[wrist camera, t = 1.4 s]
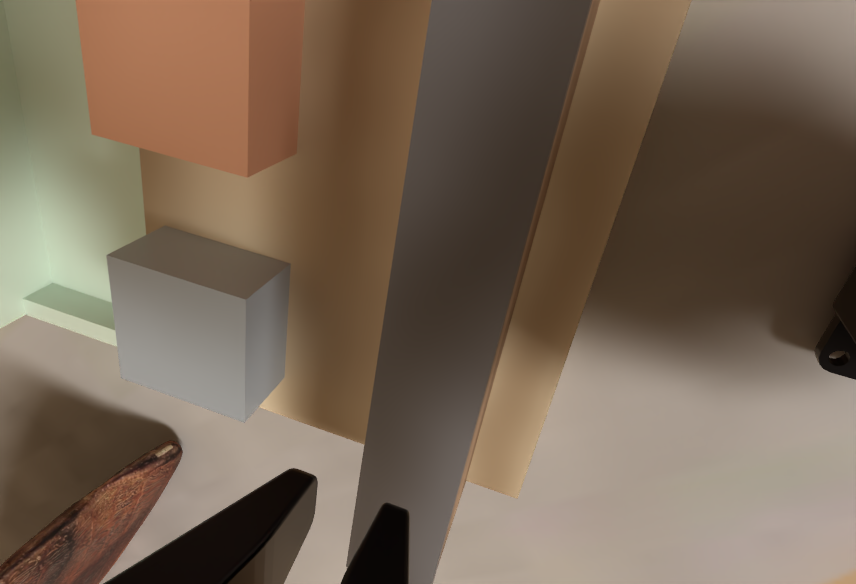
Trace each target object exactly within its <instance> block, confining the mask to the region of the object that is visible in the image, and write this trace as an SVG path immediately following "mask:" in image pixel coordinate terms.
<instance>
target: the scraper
mask: <svg viewBox="0 0 856 584" xmlns="http://www.w3.org/2000/svg"><path fill="white" fill-rule="evenodd" d="M599 4H600V0H432V2H431V9H430V15H429V22H428V28H427V35H426V42H425V48H424V55H423V61H422V68H421V75H420V81H419V88H418V95H417V101H416V108H415V114H414V121H413V128H412V134H411V141H410V147H409V154H408V161H407V167H406V174H405V181H404V187H403V194H402V200H401V207H400V214H399V220H398V227H397V234H396V240H395V247H394V253H393V260H392V267H391V273H390V280H389V286H388V293H387V300H386V306H385V313H384V320H383V326H382V333H381V339H380V346H379V353H378V359H377V366H376V372H375V379H374V386H373V392H372V399H371V406H370V412H369V419H368V425H367V432H366V439H365V445H364V452H363V458H362V465H361V472H360V478H359V485H358V492H357V498H356V505H355V511H354V518H353V525H352V531H351V538H350V544H349V551H348V558H347V564H346V567H348V566H349V564H350V562H351V560H352V559H353V557H354V555H355V553H356V551H357V549H358V547H359V546H360V544H361V542H362V540H363V538H364V536H365V534H366V533H367V531H368V529H369V527H370V525H371V523H372V521H373V520H374V518H375V516H376V514H377V512H378V510H379V508H380V507H381V505H382V504H383V503H391V504H393V505H396V506H399V507H402V508H404V509H407V510H408V511H409V513H410V548H409V584H433V581H434V578H435V574H436V570H437V567H438V564H439V561H440V558H441V555H442V552H443V549H444V546H445V543H446V540H447V537H448V534H449V531H450V528H451V525H452V522H453V519H454V516H455V513H456V510H457V507H458V503H459V500H460V497H461V494H462V491H463V488H464V485H465V482H466V479H467V475H468V472H469V468H470V465H471V461H472V458H473V454H474V450H475V447H476V443H477V440H478V436H479V433H480V429H481V425H482V422H483V418H484V415H485V411H486V408H487V404H488V400H489V397H490V393H491V390H492V386H493V383H494V379H495V375H496V372H497V368H498V365H499V361H500V358H501V354H502V350H503V347H504V343H505V340H506V336H507V333H508V329H509V325H510V322H511V318H512V315H513V311H514V308H515V304H516V300H517V297H518V293H519V290H520V286H521V283H522V279H523V275H524V272H525V268H526V265H527V261H528V258H529V254H530V250H531V247H532V243H533V240H534V236H535V233H536V229H537V225H538V222H539V218H540V215H541V211H542V208H543V204H544V200H545V197H546V193H547V190H548V186H549V183H550V179H551V175H552V172H553V168H554V165H555V161H556V158H557V154H558V150H559V147H560V143H561V140H562V136H563V133H564V129H565V125H566V122H567V118H568V115H569V111H570V108H571V104H572V100H573V97H574V93H575V90H576V86H577V83H578V79H579V75H580V72H581V68H582V65H583V61H584V58H585V54H586V50H587V47H588V43H589V40H590V36H591V32H592V29H593V25H594V22H595V18H596V15H597V11H598V7H599Z"/></svg>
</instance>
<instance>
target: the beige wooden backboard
mask: <svg viewBox="0 0 856 584" xmlns="http://www.w3.org/2000/svg"><path fill="white" fill-rule="evenodd" d="M431 2H432V0H305V11H304V30H303V48H302V66H301V85H300V103H299V122H298V140H297V154H295V155H293V156H291V157H289V158H287V159H285V160H283V161H281V162H279V163H277V164H274V165H272V166H270V167H268V168H266V169H264V170H262V171H260V172H258V173H256V174H254V175H252V176H250V177H248V178H247V177H243V176H239V175H236V174H232V173H229V172H225V171H221V170H218V169H214V168H211V167H207V166H203V165H200V164H196V163H193V162H189V161H185V160H182V159H178V158H175V157H171V156H167V155H164V154H160V153H157V152H153V151H149V150H146V149H142V148H139V153H140V165H141V177H142V189H143V202H144V214H145V226H146V235H147V234H149V233H151V232H153V231H155V230H157V229H159V228H161V227H163V226H168V227H172V228H175V229H178V230H182V231H185V232H188V233H191V234H195V235H198V236H201V237H205V238H208V239H211V240H215V241H218V242H221V243H224V244H228V245H231V246H234V247H238V248H241V249H244V250H248V251H251V252H254V253H257V254H261V255H264V256H267V257H271V258H274V259H277V260H281V261H284V262H287V263H291V268H290V287H289V305H288V323H287V342H286V360H285V378H284V379H283V380H282V381H281V382H280V383H279V384H278V386H277V387H276V388H275V389H274V390H273V391H272V392H271V393H270V395H269V396H268V397H267V398H266V399H265V400H264V401H263V402H262V404H261V405H260V406H259V407H260V408H263V409H265V410H268V411H271V412H274V413H277V414H280V415H282V416H285V417H288V418H291V419H294V420H297V421H299V422H302V423H305V424H308V425H311V426H313V427H316V428H319V429H322V430H325V431H328V432H330V433H333V434H336V435H339V436H342V437H345V438H347V439H350V440H353V441H356V442H359V443H361V444H364V445H365V439H366V432H367V425H368V419H369V412H370V406H371V399H372V392H373V386H374V379H375V372H376V366H377V359H378V353H379V346H380V339H381V333H382V326H383V320H384V313H385V306H386V300H387V293H388V286H389V280H390V273H391V267H392V260H393V253H394V247H395V240H396V234H397V227H398V220H399V214H400V207H401V200H402V194H403V187H404V181H405V174H406V167H407V161H408V154H409V147H410V141H411V134H412V128H413V121H414V114H415V108H416V101H417V95H418V88H419V81H420V75H421V68H422V61H423V55H424V48H425V42H426V35H427V28H428V22H429V15H430V9H431ZM690 3H691V0H600V4H599V7H598V11H597V15H596V18H595V22H594V25H593V29H592V32H591V36H590V40H589V43H588V47H587V50H586V54H585V58H584V61H583V65H582V68H581V72H580V75H579V79H578V83H577V86H576V90H575V93H574V97H573V100H572V104H571V108H570V111H569V115H568V118H567V122H566V125H565V129H564V133H563V136H562V140H561V143H560V147H559V150H558V154H557V158H556V161H555V165H554V168H553V172H552V175H551V179H550V183H549V186H548V190H547V193H546V197H545V200H544V204H543V208H542V211H541V215H540V218H539V222H538V225H537V229H536V233H535V236H534V240H533V243H532V247H531V250H530V254H529V258H528V261H527V265H526V268H525V272H524V275H523V279H522V283H521V286H520V290H519V293H518V297H517V300H516V304H515V308H514V311H513V315H512V318H511V322H510V325H509V329H508V333H507V336H506V340H505V343H504V347H503V350H502V354H501V358H500V361H499V365H498V368H497V372H496V375H495V379H494V383H493V386H492V390H491V393H490V397H489V400H488V404H487V408H486V411H485V415H484V418H483V422H482V425H481V429H480V433H479V436H478V440H477V443H476V447H475V450H474V454H473V458H472V461H471V465H470V468H469V472H468V475H467V479H466V481H469V482H471V483H474V484H477V485H480V486H483V487H486V488H488V489H491V490H494V491H497V492H500V493H503V494H505V495H508V496H511V497H514V498H518V495H519V493H520V490H521V487H522V484H523V481H524V478H525V475H526V473H527V470H528V467H529V464H530V461H531V458H532V455H533V452H534V450H535V447H536V444H537V441H538V438H539V435H540V432H541V430H542V427H543V424H544V421H545V418H546V415H547V412H548V410H549V407H550V404H551V401H552V398H553V395H554V392H555V390H556V387H557V384H558V381H559V378H560V375H561V372H562V369H563V367H564V364H565V361H566V358H567V355H568V352H569V349H570V347H571V344H572V341H573V338H574V335H575V332H576V329H577V327H578V324H579V321H580V318H581V315H582V312H583V309H584V307H585V304H586V301H587V298H588V295H589V292H590V289H591V286H592V284H593V281H594V278H595V275H596V272H597V269H598V266H599V264H600V261H601V258H602V255H603V252H604V249H605V246H606V244H607V241H608V238H609V235H610V232H611V229H612V226H613V224H614V221H615V218H616V215H617V212H618V209H619V206H620V203H621V201H622V198H623V195H624V192H625V189H626V186H627V183H628V181H629V178H630V175H631V172H632V169H633V166H634V163H635V161H636V158H637V155H638V152H639V149H640V146H641V143H642V141H643V138H644V135H645V132H646V129H647V126H648V123H649V120H650V118H651V115H652V112H653V109H654V106H655V103H656V100H657V98H658V95H659V92H660V89H661V86H662V83H663V80H664V78H665V75H666V72H667V69H668V66H669V63H670V60H671V57H672V55H673V52H674V49H675V46H676V43H677V40H678V37H679V35H680V32H681V29H682V26H683V23H684V20H685V17H686V15H687V12H688V9H689V6H690Z"/></svg>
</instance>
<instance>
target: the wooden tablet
mask: <svg viewBox="0 0 856 584" xmlns="http://www.w3.org/2000/svg"><path fill="white" fill-rule="evenodd" d="M182 453H183V451H182V448H181V446H180V445H179V444H178V443H177V442H175V441H168V442H165V443H163V444H162V445H160V446H158V447H156V448H155V449H153V450H151V451H150V452H148V453H146V454H144V455H143V456H141V457H140V458H138V459H137V460H135V461H134V462H132V463H131V464H129V465H128V466H126V467H125V468H123V469H122V470H121V471H119V472H118V473H117V474H115V475H114V476H113V477H111V478H110V479H109V480H108V481H106V482H105V483H104V484H102V485H101V486H100V487H98V488H96V489H95V490H93V491H92V492H90V493H89V494H88V495H86V496H85V497H84V498H82V499H81V500H79V501H78V502H76V503H74V504H73V505H72V506H71V507H69V508H68V509H67V510H65V511H64V512H63V513H62V514H60V515H59V516H58V517H57V518H56V519H55V520H53V521H52V522H51V523H50V524H49V525H47V526H46V527H45V528H44V529H43V530H42V531H40V532H39V533H38V534H37V535H35V536H34V537H33V538H32V539H30V540H29V541H28V542H27V543H26V544H24V545H23V546H22V547H21V548H20V549H19V550H17V551H16V552H15V553H14V554H13V555H12V556H11V557H10V558H8V559H7V560H6V561H5V562H4V563H3V564H2V565H1V566H0V584H99V583H100V581H101V580H102V579H103V578H104V577H105V575H106V574H107V573H108V571H109V570H110V569H111V567H112V566H113V565H114V564H115V562H116V561H117V560H118V558H119V557H120V555H121V554H122V552H123V551H124V550H125V548H126V547H127V545H128V544H129V542H130V541H131V539H132V538H133V536H134V535H135V533H136V532H137V530H138V529H139V528H140V526H141V525H142V524H143V522H144V521H145V519H146V518H147V516H148V514H149V513H150V511H151V510H152V508H153V507H154V505H155V504H156V502H157V500H158V499H159V497H160V496H161V494H162V492H163V490H164V489H165V487H166V485H167V484H168V482H169V480H170V478H171V477H172V475H173V473H174V471H175V470H176V468H177V466H178V464H179V462H180V460H181V457H182Z"/></svg>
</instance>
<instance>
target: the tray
mask: <svg viewBox="0 0 856 584" xmlns="http://www.w3.org/2000/svg"><path fill="white" fill-rule="evenodd" d="M145 235H146V226H145V214H144V202H143V189H142V177H141V165H140V153H139V147H135V146H132V145H128V144H124V143H121V142H117V141H114V140H110V139H106V138H103V137H99V136H96V135H92V133H91V125H90V116H89V108H88V100H87V92H86V83H85V75H84V67H83V58H82V50H81V42H80V34H79V25H78V17H77V9H76V0H0V328H2V327H4V326H6V325H8V324H9V323H11V322H13V321H15V320H17V319H19V318H21V317H22V316H24V315H28V316H31V317H34V318H37V319H39V320H42V321H45V322H48V323H51V324H54V325H56V326H59V327H62V328H65V329H68V330H71V331H74V332H76V333H79V334H82V335H85V336H88V337H91V338H94V339H96V340H99V341H102V342H105V343H108V344H111V345H113V346H116V347H117V340H116V332H115V323H114V315H113V307H112V299H111V290H110V282H109V274H108V265H107V257H106V255H107V254H109V253H111V252H113V251H115V250H117V249H119V248H121V247H123V246H125V245H127V244H129V243H131V242H133V241H135V240H137V239H139V238H141V237H143V236H145Z"/></svg>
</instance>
